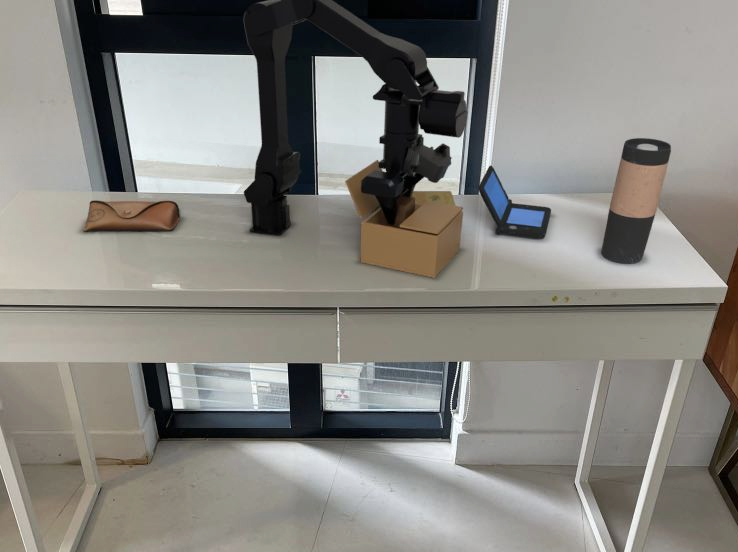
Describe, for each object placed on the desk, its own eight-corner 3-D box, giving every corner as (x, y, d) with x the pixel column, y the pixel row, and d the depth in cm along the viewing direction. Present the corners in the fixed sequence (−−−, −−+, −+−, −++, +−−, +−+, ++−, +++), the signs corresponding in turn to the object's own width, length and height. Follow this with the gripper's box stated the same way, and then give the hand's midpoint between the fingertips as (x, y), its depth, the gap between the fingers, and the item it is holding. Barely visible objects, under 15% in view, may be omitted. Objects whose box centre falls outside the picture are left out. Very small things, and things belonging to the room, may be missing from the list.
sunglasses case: (80, 231, 139) (79, 196, 138) (91, 236, 146) (90, 203, 145) (174, 230, 139) (173, 195, 139) (180, 235, 146) (180, 202, 146)
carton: (454, 225, 143) (456, 204, 140) (373, 224, 143) (374, 204, 140) (450, 209, 149) (451, 189, 147) (372, 209, 150) (373, 189, 147)
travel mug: (590, 251, 132) (614, 140, 121) (623, 244, 135) (649, 135, 123) (619, 267, 126) (646, 153, 115) (653, 260, 129) (683, 147, 118)
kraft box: (360, 262, 128) (361, 217, 124) (389, 236, 138) (391, 194, 133) (434, 278, 123) (438, 232, 118) (459, 250, 133) (463, 206, 128)
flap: (362, 218, 124) (360, 218, 124) (392, 195, 133) (390, 195, 133) (346, 180, 121) (344, 181, 121) (378, 159, 131) (376, 160, 131)
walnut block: (380, 227, 128) (380, 201, 125) (390, 218, 131) (391, 193, 128) (404, 231, 126) (405, 206, 123) (413, 222, 129) (415, 197, 127)
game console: (544, 242, 136) (552, 195, 131) (472, 233, 139) (477, 187, 134) (551, 213, 148) (559, 169, 143) (485, 206, 151) (490, 163, 146)
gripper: (426, 151, 109) (419, 246, 118) (466, 122, 123) (457, 210, 132) (360, 141, 113) (358, 234, 122) (405, 114, 127) (401, 200, 136)
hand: (396, 219), depth 128 cm, fingers closed on walnut block, 4 cm apart
